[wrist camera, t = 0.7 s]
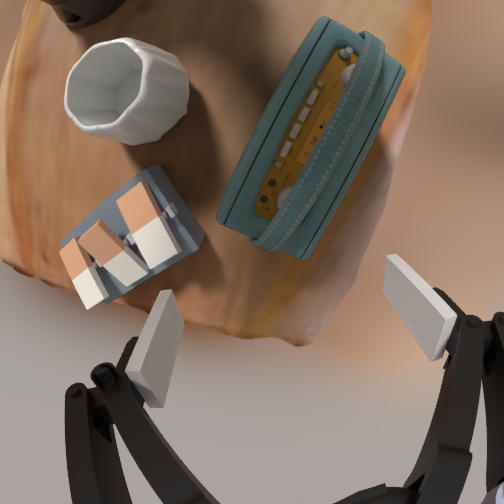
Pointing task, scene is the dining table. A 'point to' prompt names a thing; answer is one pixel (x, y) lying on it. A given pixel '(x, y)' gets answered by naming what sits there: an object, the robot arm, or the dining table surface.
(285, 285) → the dining table surface
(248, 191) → the radio
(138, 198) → the rocker near
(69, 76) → the vase
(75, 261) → the rocker far
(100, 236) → the rocker mid
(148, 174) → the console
